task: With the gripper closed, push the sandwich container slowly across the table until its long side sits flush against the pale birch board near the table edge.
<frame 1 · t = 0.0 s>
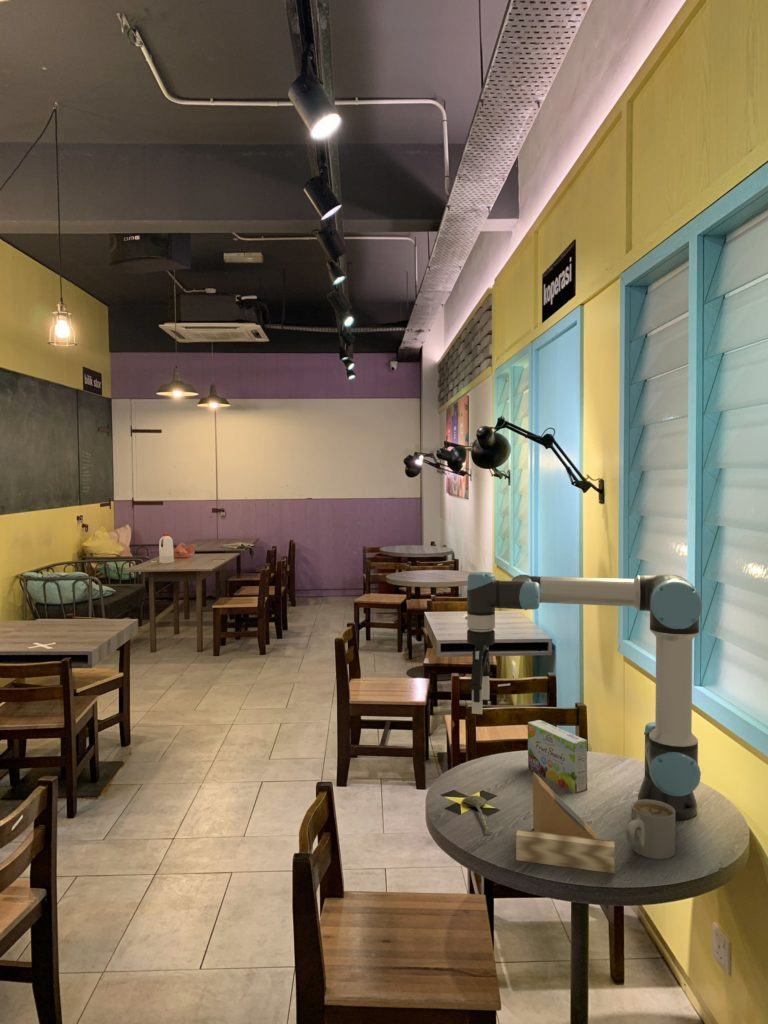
hand: (480, 706, 197), 28 cm above the table, tool pointing down, fingers open, 13 cm apart
coffee mug: (647, 850, 174), on the table
snack box: (556, 780, 217), on the table
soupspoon: (479, 817, 193), on the table
birch board: (564, 863, 168), on the table
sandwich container: (566, 837, 181), on the table
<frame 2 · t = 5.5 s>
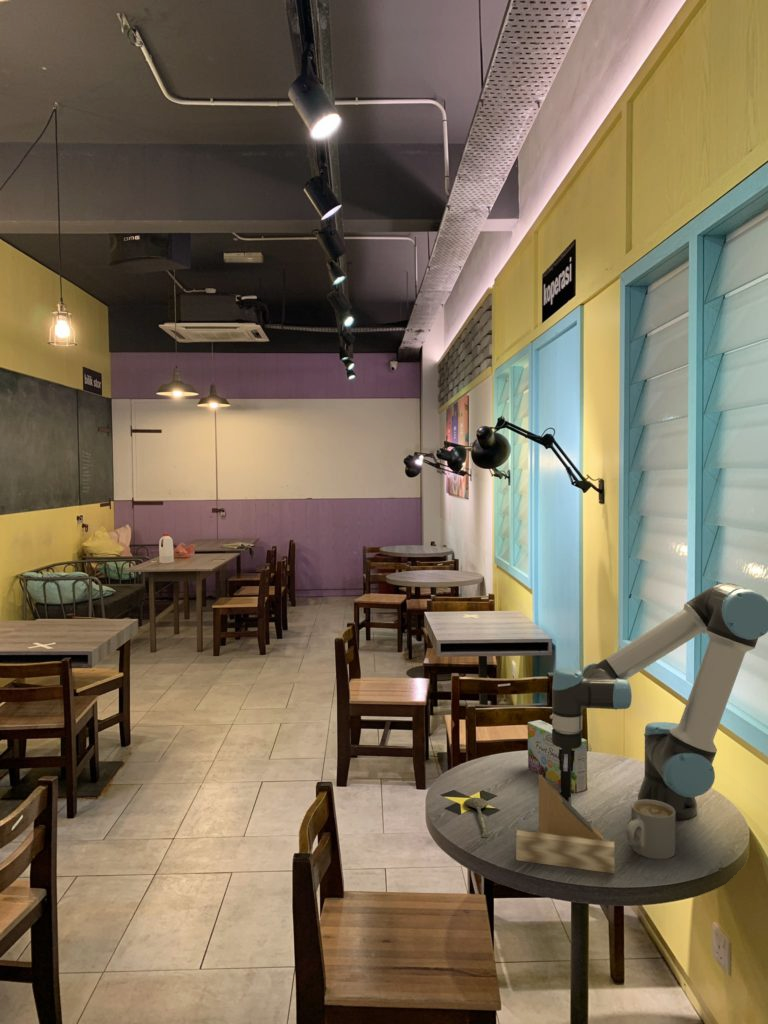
hand: (565, 819, 187), 2 cm above the table, tool pointing down, fingers closed
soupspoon: (479, 820, 191), on the table
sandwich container: (573, 839, 180), on the table
everything else where it was.
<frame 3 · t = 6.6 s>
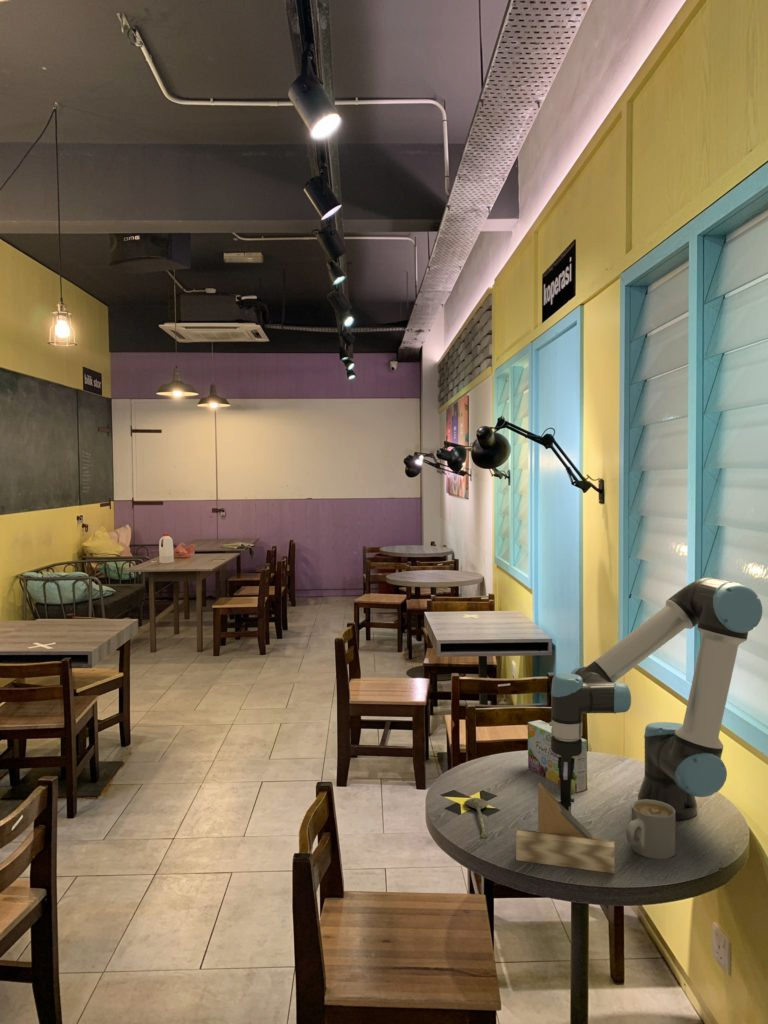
hand: (565, 829, 181), 2 cm above the table, tool pointing down, fingers closed
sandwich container: (573, 850, 174), on the table
everything else where it was.
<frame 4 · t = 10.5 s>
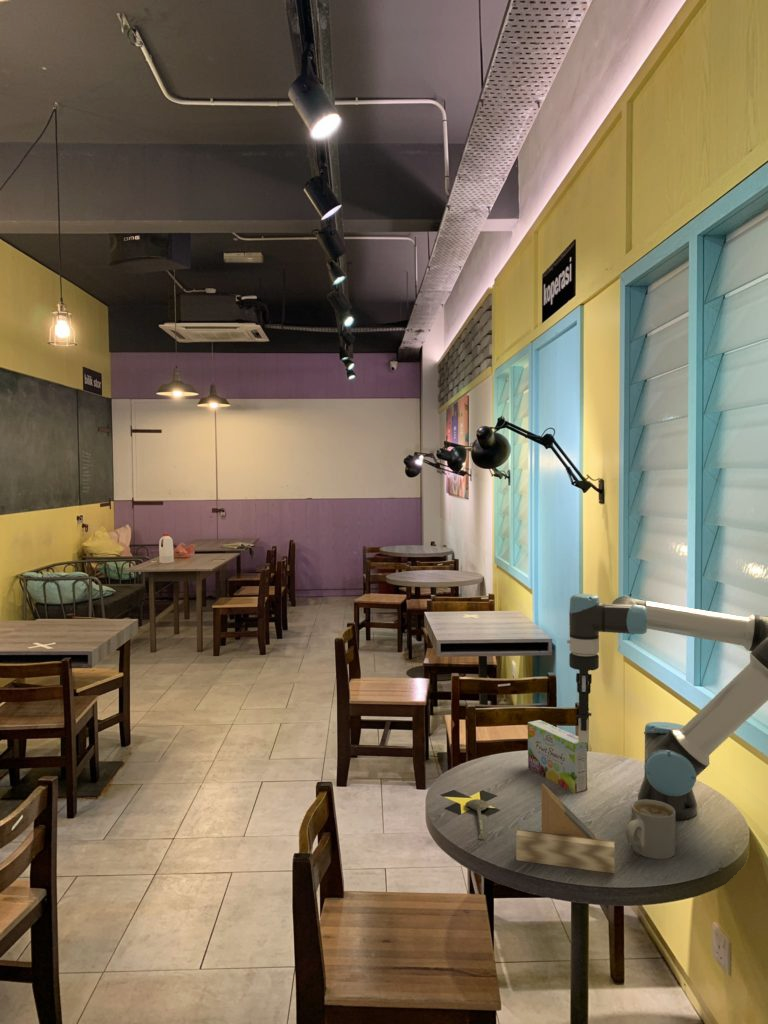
hand: (583, 741, 191), 20 cm above the table, tool pointing down, fingers closed
at the end: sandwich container inside the target area on the table beside the birch board (2.7 cm from its centre), on the table; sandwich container tilted 0° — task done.
